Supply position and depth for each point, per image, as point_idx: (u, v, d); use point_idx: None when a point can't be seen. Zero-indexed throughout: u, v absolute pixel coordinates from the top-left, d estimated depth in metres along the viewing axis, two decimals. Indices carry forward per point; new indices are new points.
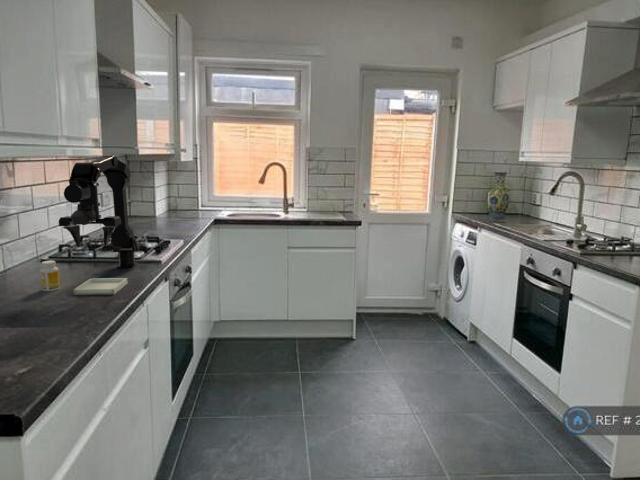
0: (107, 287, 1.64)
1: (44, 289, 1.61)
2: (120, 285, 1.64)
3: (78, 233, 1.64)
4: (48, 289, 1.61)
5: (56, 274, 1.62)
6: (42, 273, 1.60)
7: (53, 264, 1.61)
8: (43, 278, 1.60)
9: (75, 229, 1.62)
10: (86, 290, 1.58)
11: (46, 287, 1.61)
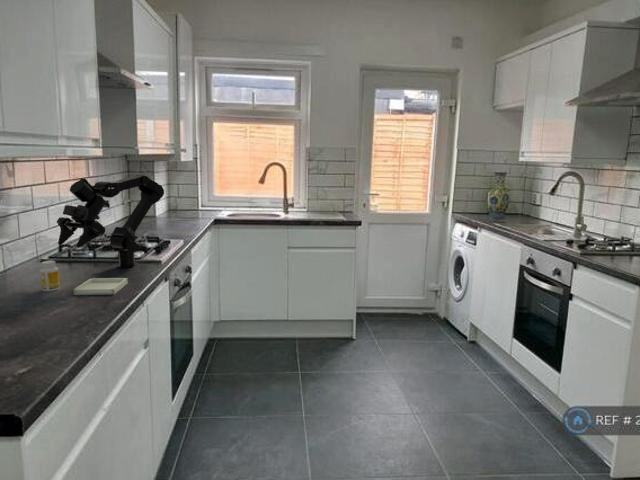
0: (107, 287, 1.64)
1: (44, 289, 1.61)
2: (120, 285, 1.64)
3: (67, 236, 1.73)
4: (48, 289, 1.61)
5: (56, 274, 1.62)
6: (42, 273, 1.60)
7: (53, 264, 1.61)
8: (43, 278, 1.60)
9: (67, 230, 1.73)
10: (86, 290, 1.58)
11: (46, 287, 1.61)
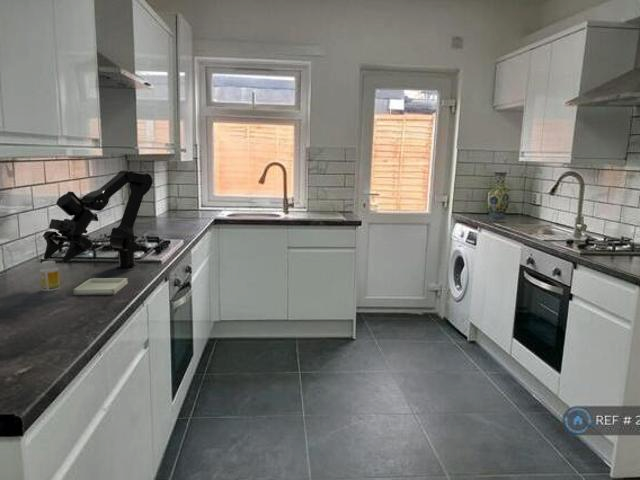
0: (107, 287, 1.64)
1: (44, 289, 1.61)
2: (120, 285, 1.64)
3: (54, 250, 1.69)
4: (48, 289, 1.61)
5: (56, 274, 1.62)
6: (42, 273, 1.60)
7: (53, 264, 1.61)
8: (43, 278, 1.60)
9: (53, 245, 1.69)
10: (86, 290, 1.58)
11: (46, 287, 1.61)
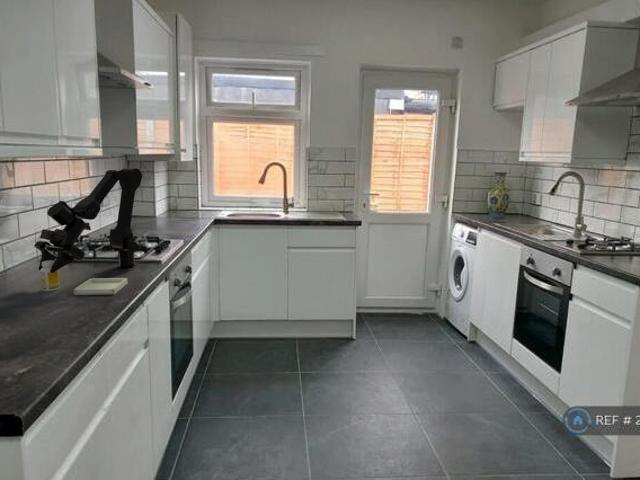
0: (107, 287, 1.64)
1: (44, 289, 1.61)
2: (120, 285, 1.64)
3: None
4: (48, 289, 1.61)
5: (56, 274, 1.62)
6: (42, 273, 1.60)
7: None
8: (43, 278, 1.60)
9: (48, 255, 1.65)
10: (86, 290, 1.58)
11: (46, 287, 1.61)
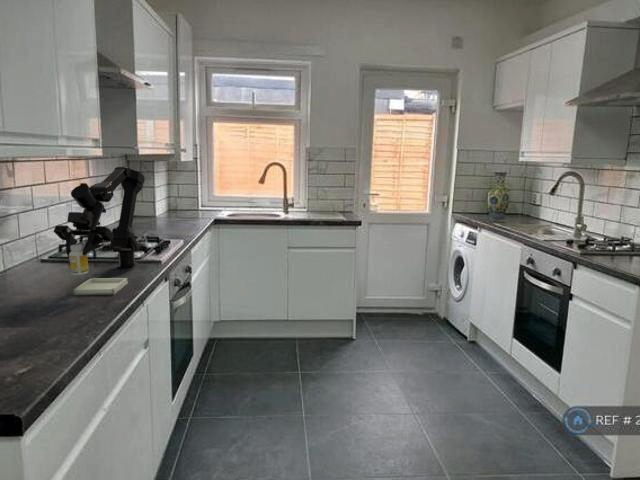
0: (107, 287, 1.64)
1: (75, 273, 1.59)
2: (120, 285, 1.64)
3: None
4: (80, 272, 1.60)
5: (86, 257, 1.61)
6: (73, 256, 1.58)
7: (83, 247, 1.60)
8: (74, 262, 1.59)
9: (72, 239, 1.63)
10: (86, 290, 1.58)
11: (77, 271, 1.59)
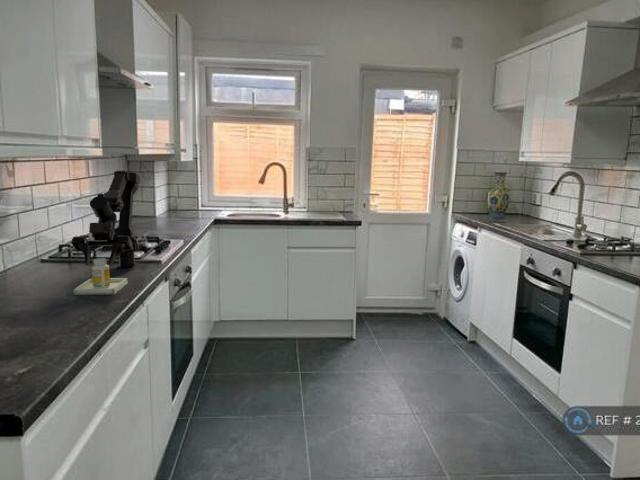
0: (107, 287, 1.64)
1: (99, 287, 1.62)
2: (120, 285, 1.64)
3: (89, 256, 1.64)
4: (104, 286, 1.62)
5: None
6: (97, 271, 1.60)
7: (106, 261, 1.63)
8: (99, 276, 1.61)
9: (88, 250, 1.64)
10: (86, 290, 1.58)
11: (102, 285, 1.62)
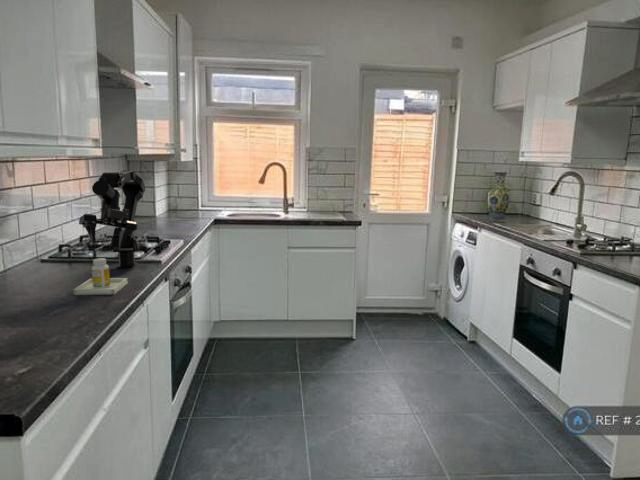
0: (107, 287, 1.64)
1: (99, 287, 1.62)
2: (120, 285, 1.64)
3: None
4: (104, 286, 1.62)
5: None
6: (97, 271, 1.61)
7: (105, 261, 1.63)
8: (99, 276, 1.61)
9: None
10: (86, 290, 1.58)
11: (102, 285, 1.62)
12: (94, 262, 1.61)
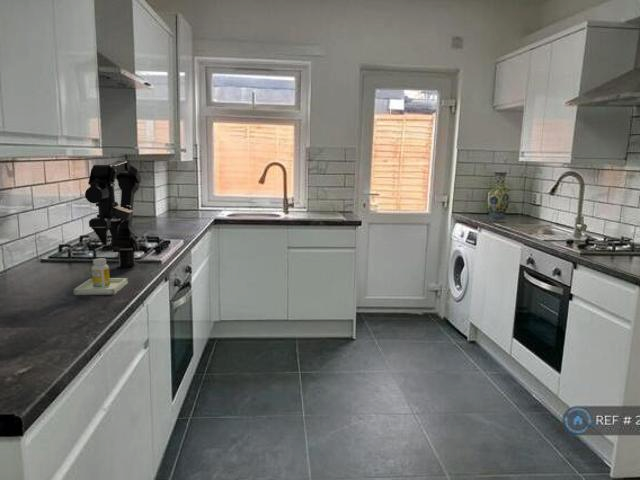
0: (107, 287, 1.64)
1: (99, 287, 1.62)
2: (120, 285, 1.64)
3: None
4: (104, 286, 1.62)
5: None
6: (97, 271, 1.61)
7: (105, 261, 1.63)
8: (99, 276, 1.61)
9: None
10: (86, 290, 1.58)
11: (102, 285, 1.62)
12: (94, 262, 1.61)
